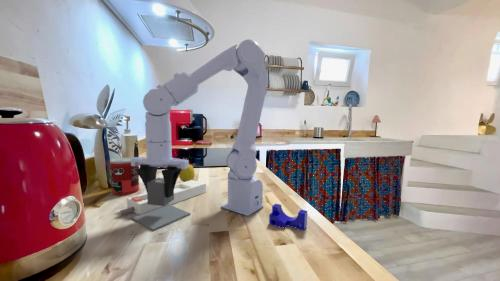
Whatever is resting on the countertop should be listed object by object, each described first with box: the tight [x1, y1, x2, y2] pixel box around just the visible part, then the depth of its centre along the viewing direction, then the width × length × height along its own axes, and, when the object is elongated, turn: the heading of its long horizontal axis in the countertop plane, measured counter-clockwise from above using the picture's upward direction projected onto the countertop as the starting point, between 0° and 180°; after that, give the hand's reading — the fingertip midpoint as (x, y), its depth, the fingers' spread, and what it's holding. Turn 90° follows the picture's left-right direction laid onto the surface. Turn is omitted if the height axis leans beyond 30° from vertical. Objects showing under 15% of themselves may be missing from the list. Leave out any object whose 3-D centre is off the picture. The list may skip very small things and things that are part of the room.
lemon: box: [178, 163, 196, 183], centre depth 80 cm, size 6×6×8 cm
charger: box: [146, 177, 174, 206], centre depth 53 cm, size 4×4×6 cm
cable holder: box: [268, 203, 308, 231], centre depth 50 cm, size 8×4×4 cm, turn 59°
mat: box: [130, 204, 191, 232], centre depth 54 cm, size 10×10×1 cm
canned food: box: [109, 156, 140, 196], centre depth 71 cm, size 8×8×11 cm
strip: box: [119, 179, 207, 216], centre depth 64 cm, size 25×7×4 cm, turn 144°
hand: (160, 195), depth 53 cm, fingers closed on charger, 4 cm apart
